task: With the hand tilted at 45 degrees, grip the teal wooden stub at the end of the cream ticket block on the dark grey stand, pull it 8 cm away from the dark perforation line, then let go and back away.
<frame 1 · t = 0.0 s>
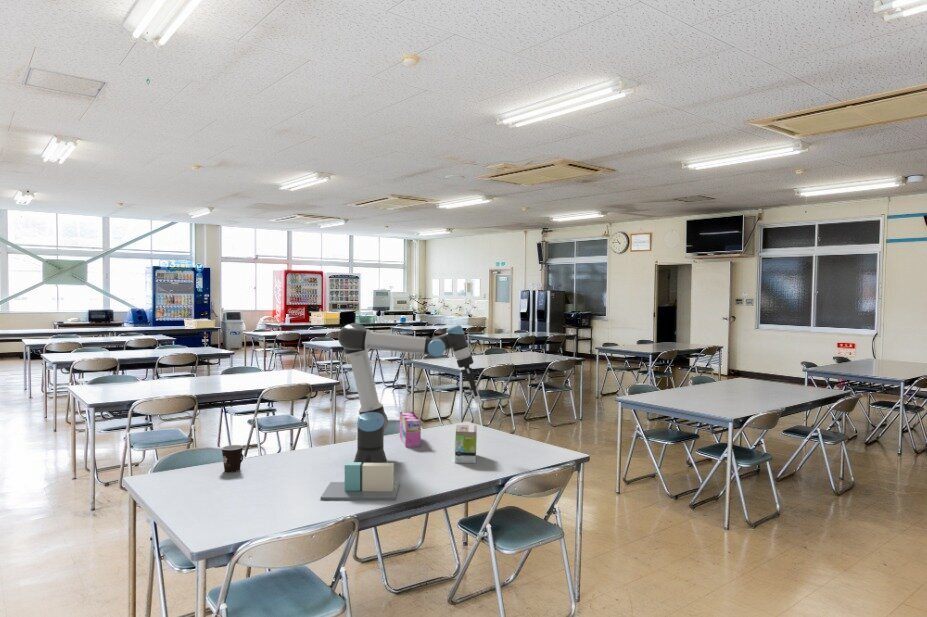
hand: (477, 400, 280), 28 cm above the table, tool tilted 20°, fingers open, 13 cm apart
stub: (353, 476, 232), point 6 cm above the table, slide at 0.0 cm
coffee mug: (232, 471, 257), on the table
ticket stand: (361, 492, 232), on the table
tea box: (465, 459, 280), on the table
pink drink carton pack: (409, 442, 311), on the table
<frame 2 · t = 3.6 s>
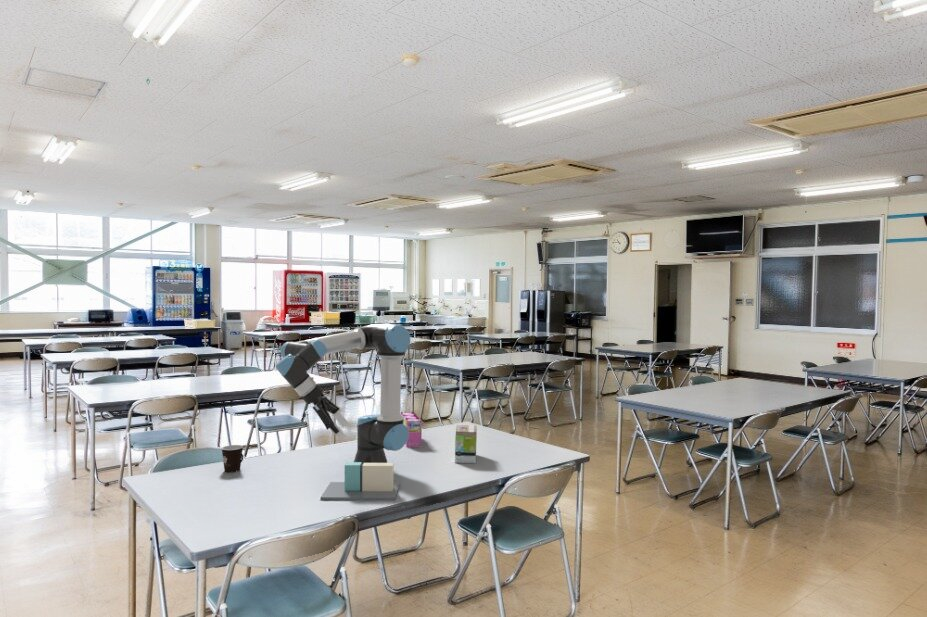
hand: (344, 431, 228), 25 cm above the table, tool tilted 40°, fingers open, 13 cm apart
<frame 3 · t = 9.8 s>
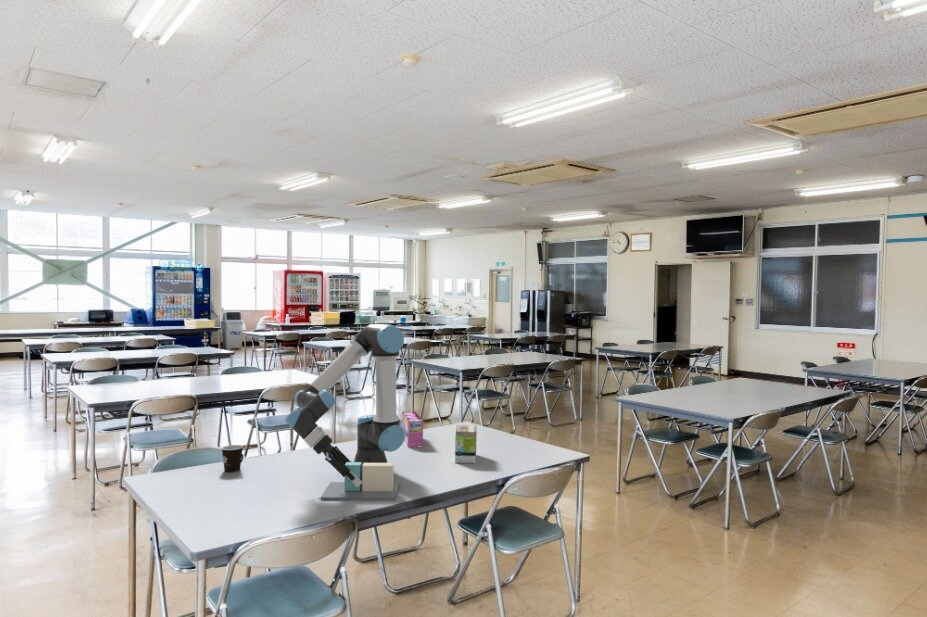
hand: (361, 482, 232), 4 cm above the table, tool tilted 45°, fingers closed on ticket stand, 4 cm apart
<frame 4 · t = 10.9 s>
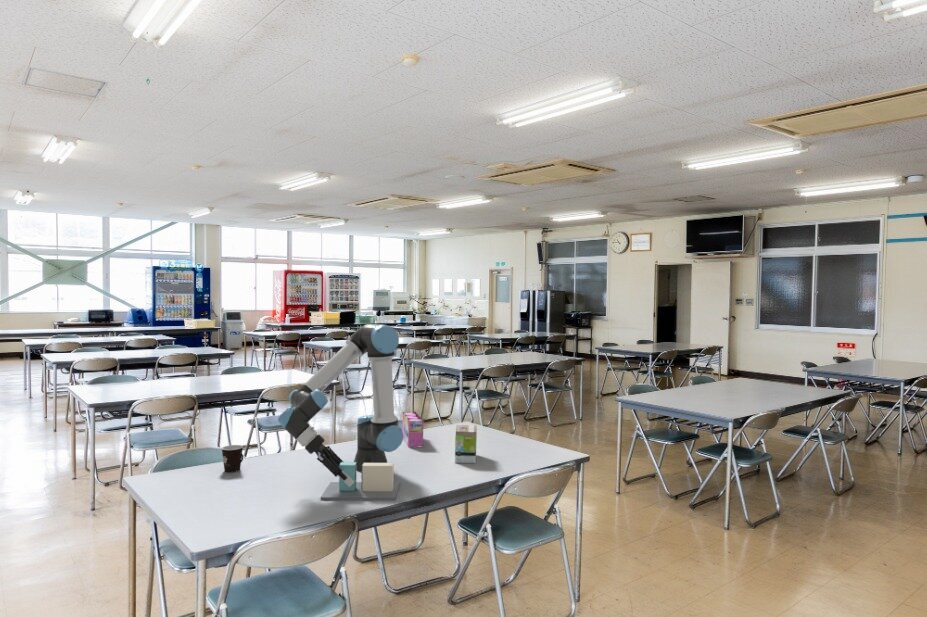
hand: (353, 482, 232), 4 cm above the table, tool tilted 45°, fingers closed on stub, 4 cm apart
stub: (347, 476, 232), point 6 cm above the table, slide at 2.1 cm, touching gripper
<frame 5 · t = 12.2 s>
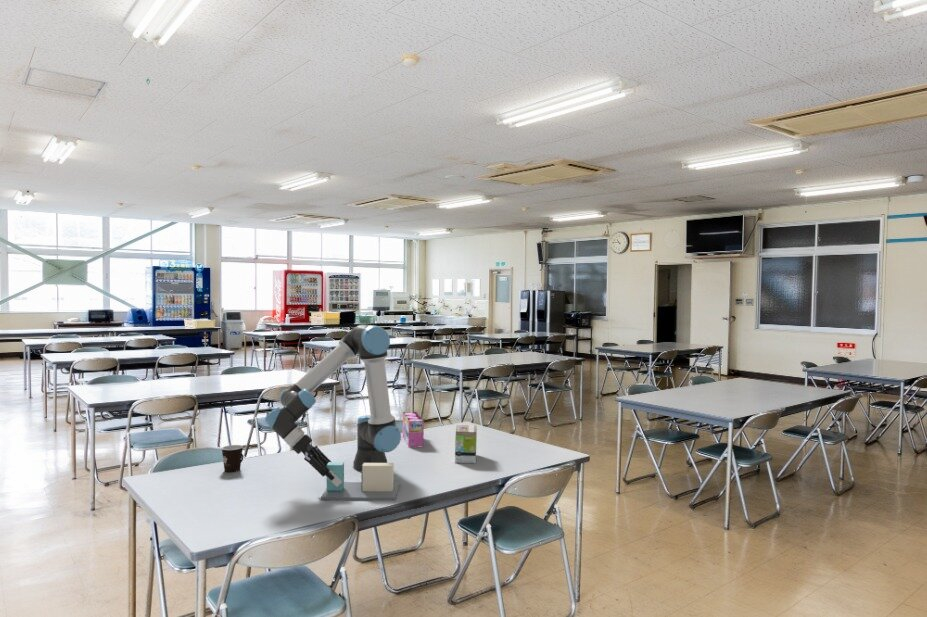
hand: (340, 482, 232), 4 cm above the table, tool tilted 45°, fingers closed on stub, 4 cm apart
stub: (335, 476, 232), point 6 cm above the table, slide at 7.0 cm, touching gripper
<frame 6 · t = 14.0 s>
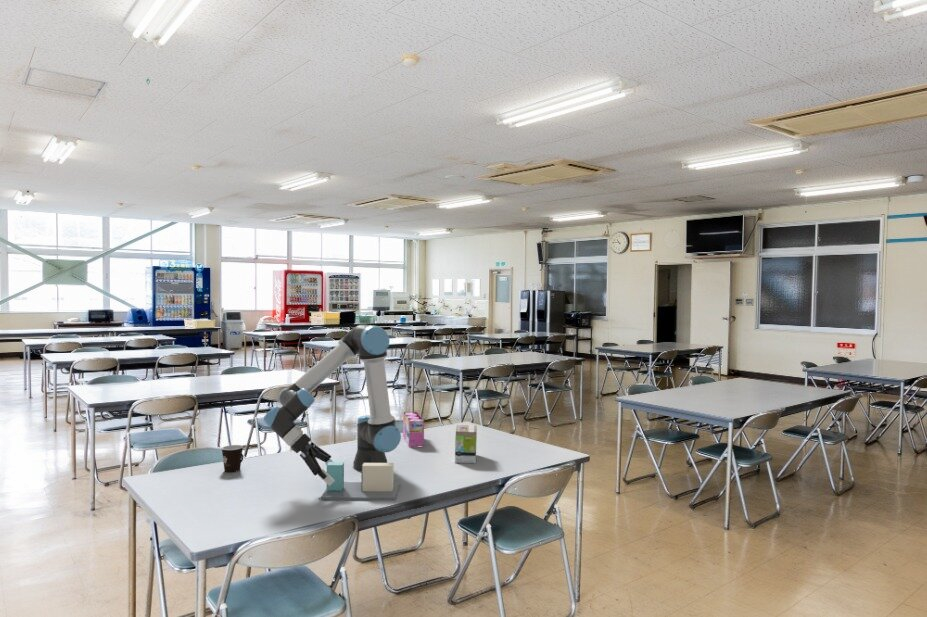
hand: (335, 477, 232), 6 cm above the table, tool tilted 45°, fingers open, 13 cm apart
stub: (335, 476, 232), point 6 cm above the table, slide at 7.0 cm
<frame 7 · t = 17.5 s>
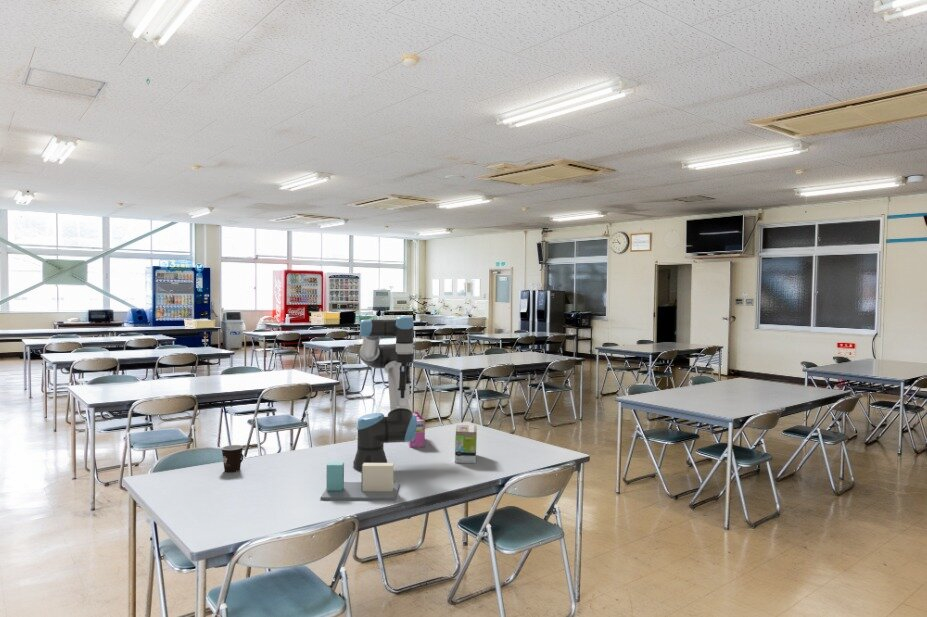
hand: (404, 401, 254), 31 cm above the table, tool pointing down, fingers open, 13 cm apart
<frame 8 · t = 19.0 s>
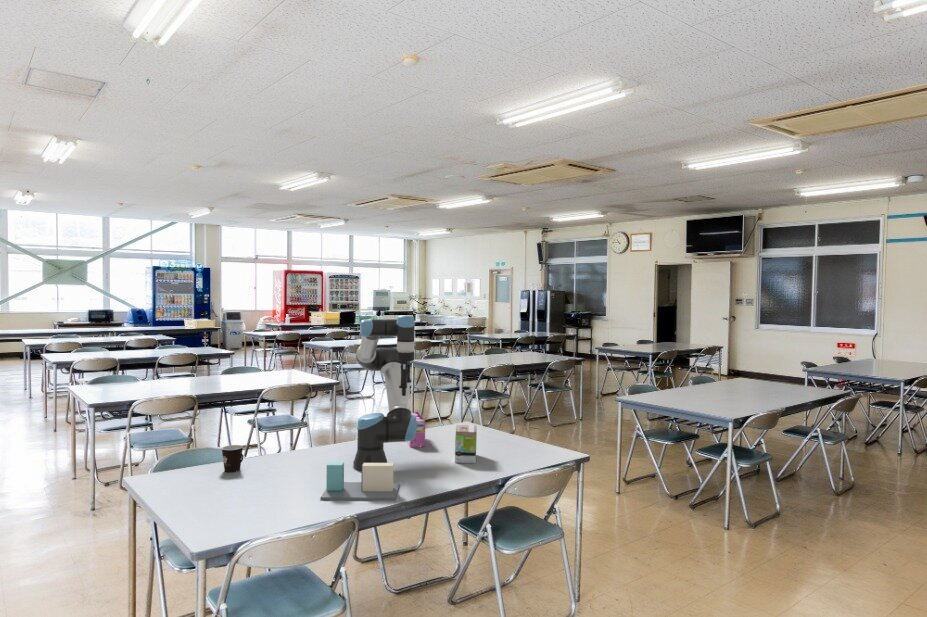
hand: (405, 400, 256), 32 cm above the table, tool pointing down, fingers open, 13 cm apart
at the end: stub slide at 7.0 cm; the gripper is holding nothing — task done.
